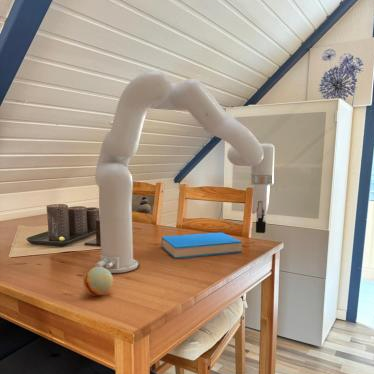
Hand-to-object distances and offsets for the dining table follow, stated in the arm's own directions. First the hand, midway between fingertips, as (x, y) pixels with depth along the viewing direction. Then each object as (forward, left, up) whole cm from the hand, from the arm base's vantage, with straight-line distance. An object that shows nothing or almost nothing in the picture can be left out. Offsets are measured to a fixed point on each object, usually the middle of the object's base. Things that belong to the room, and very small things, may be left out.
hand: (260, 232), depth 123 cm
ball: (-51, +34, -8) cm, 62 cm away
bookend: (-2, +61, -7) cm, 61 cm away
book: (-2, +21, -8) cm, 23 cm away
